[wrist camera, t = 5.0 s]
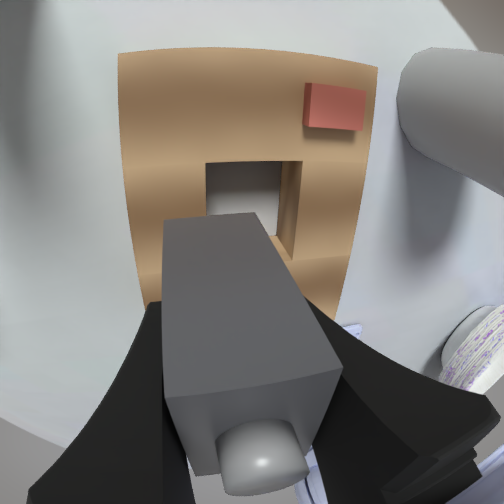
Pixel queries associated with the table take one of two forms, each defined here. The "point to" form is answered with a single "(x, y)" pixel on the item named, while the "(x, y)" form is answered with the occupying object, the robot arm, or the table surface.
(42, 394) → the table surface
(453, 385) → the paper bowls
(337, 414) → the robot arm
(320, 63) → the socket
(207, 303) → the plug
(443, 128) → the cup
